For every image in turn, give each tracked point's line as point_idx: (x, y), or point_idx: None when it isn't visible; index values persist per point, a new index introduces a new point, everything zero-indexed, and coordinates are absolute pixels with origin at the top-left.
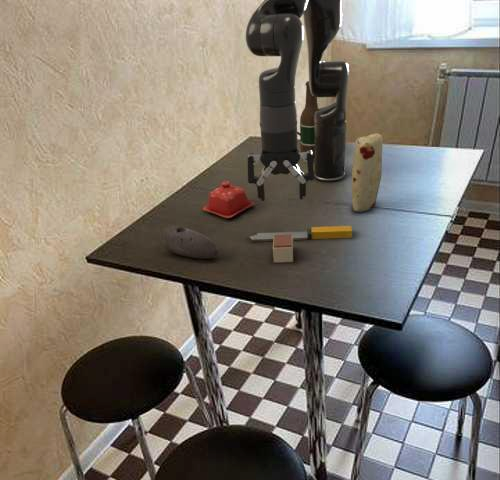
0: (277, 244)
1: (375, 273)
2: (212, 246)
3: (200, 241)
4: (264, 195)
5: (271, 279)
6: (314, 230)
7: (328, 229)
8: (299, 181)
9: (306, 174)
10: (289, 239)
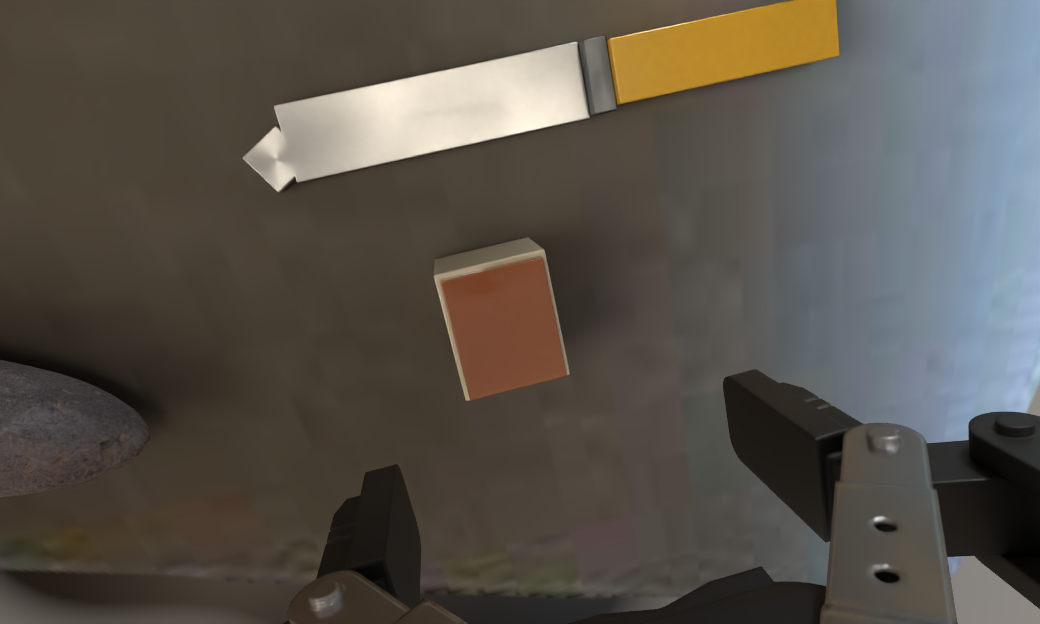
0: (488, 383)
1: (897, 361)
2: (104, 473)
3: (3, 495)
4: (399, 487)
5: (487, 493)
6: (634, 79)
7: (712, 57)
8: (820, 471)
9: (973, 509)
10: (543, 319)
